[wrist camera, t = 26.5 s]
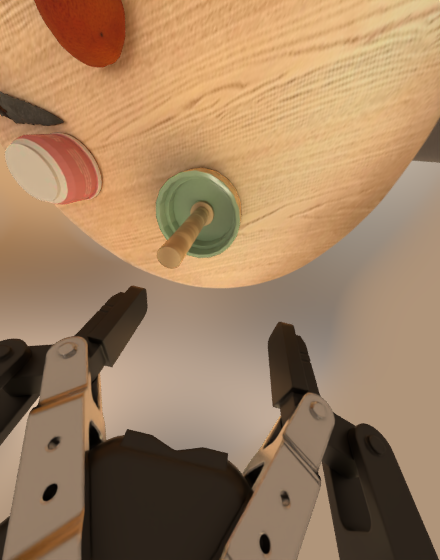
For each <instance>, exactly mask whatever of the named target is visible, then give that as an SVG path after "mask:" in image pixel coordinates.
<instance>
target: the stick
mask: <svg viewBox="0 0 440 560" xmlns="http://www.w3.org/2000/svg"><path fill="white" fill-rule="evenodd" d="M190 214H191V215H190V216H189V217H188V218H187V219H186V220H185V222H184V223H183V224H182V225H181V226H180V227H179V228H178V229H177V230H176V231H175V232H174V234H173V235H172V236H171V237H170V238H169V239H168V240H167V241H166V242H165V243H164V244H163V246H162V247H161V248H160V249H159V250H158V252H157V258H158V261H159V262H160V263H161V264H162V265H163V266H164V267H167V268H170V269H173V268H177V267H178V266H179V265H180V264H181V262H182V261H183V259H184V257H185V256H186V254H187V252H188V251H189V249H190V248H191V246H192V244H193V243H194V241H195V239H196V238H197V236H198V235H199V233H200V231H201V230H202V228H203V226H206V225H208V224H210V223H211V222H212V220H213V218H214V209H213V207H212V205H211V204H210V203H208V202H207V201H198V202H196V203H195V204H194V205H193V206H192V208H191V211H190Z"/></svg>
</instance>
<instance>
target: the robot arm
mask: <svg viewBox="0 0 440 560" xmlns="http://www.w3.org/2000/svg"><path fill="white" fill-rule="evenodd" d="M146 312H147V293H146V289H145V288H140V287H136V286H131V287H130V288H129V289H128V290H127V291H126V292H125V293H123V292H120V293H118V294H116V295H114V296H112V297H111V298H110V299H109V300H108V301H107V302H106V303H105V305H104V306H102V307H101V309H100V310H99V311H98V312H97V313H96V314H95V315H94V316H93V317H92V318H91V319H90V320H89V321H88V322H87V323H86V324H85V326H84V327H83V328H82V329H81V330H80V331H79V332H78V333H77V334H76V335H75V336H72V337H67V338H64V339H62V340H60V341H58V342H56V343H55V344H53V345H40V346H27V344H26V343H25V342H24V341H23V340H21V339H7V340H3V341H0V445H1V444H2V443H3V441H4V440H5V439H6V438H7V436H8V435H9V434H10V432H11V431H12V430H13V428H14V427H15V426H16V425H17V424H18V422H19V421H20V420H21V419H22V417H23V416H24V415H25V414H26V412H27V411H28V410H29V409H30V407H31V406H32V405H33V404H34V402H35V401H36V400H37V398H38V397H39V396H40V399H39V403H38V405H37V406H36V407H34V408H33V409H32V410H31V411H30V413H29V416H28V420H27V425H26V430H25V436H24V441H23V447H22V452H21V458H20V464H19V469H18V475H17V480H16V486H15V491H14V497H13V503H12V508H11V513H10V516H9V517H8V518H7V519H5V520H4V521H3V522H2V523H0V560H297V557H298V554H299V551H300V548H301V545H302V542H303V539H304V536H305V533H306V530H307V527H308V524H309V521H310V518H311V515H312V512H313V509H314V506H315V502H316V499H317V497H318V494H319V491H320V486H321V478H320V476H319V475H318V469H319V466H320V463H321V461H322V465H323V471H324V476H325V482H326V487H327V492H328V497H329V503H330V509H331V514H332V519H333V525H334V531H335V536H336V541H337V547H338V553H339V557H340V560H439V559H438V556H437V554H436V552H435V549H434V547H433V545H432V542H431V540H430V538H429V535H428V533H427V531H426V528H425V526H424V524H423V521H422V519H421V517H420V514H419V512H418V510H417V507H416V505H415V502H414V500H413V498H412V495H411V493H410V491H409V488H408V486H407V484H406V481H405V479H404V477H403V474H402V472H401V470H400V467H399V465H398V463H397V460H396V458H395V455H394V453H393V451H392V449H391V447H390V445H389V443H388V442H387V441H386V439H385V438H384V437H383V435H382V434H381V433H380V432H379V431H378V430H376V429H375V428H374V427H372V426H370V425H368V424H364V423H363V424H359V425H357V426H355V425H353V424H351V423H350V422H348V421H346V420H345V419H343V418H341V417H340V416H338V415H336V414H335V413H334V412H333V411H332V409H331V408H330V406H329V404H328V403H327V402H326V401H325V400H324V399H323V398H322V397H321V396H320V394H319V391H318V387H317V383H316V380H315V376H314V373H313V369H312V365H311V363H310V358H309V355H308V351H307V347H306V345H305V343H304V341H303V340H302V338H301V336H298V335H296V334H295V329H294V326H293V325H291V324H287V323H283V322H278V324H277V325H276V327H275V329H274V330H273V332H272V334H271V336H270V338H269V341H268V354H269V366H270V379H271V391H272V402H273V407H276V408H280V412H281V416H280V417H279V418H278V420H277V422H276V423H275V425H274V427H273V428H272V430H271V431H270V433H269V435H268V436H267V438H266V440H265V441H264V443H263V444H262V446H261V448H260V449H259V451H258V452H257V453H256V454H255V456H254V457H253V458H252V459H251V461H250V462H249V464H248V465H247V467H246V468H245V470H244V472H243V473H241V472H240V471H239V470H238V469H237V467H236V466H234V465H233V464H232V463H231V462H230V461H228V460H227V458H228V453H224V452H220V451H216V450H212V449H208V448H203V447H202V448H194V449H186V450H174V449H172V448H170V447H169V446H167V445H166V444H164V443H163V442H161V441H160V440H158V439H157V438H156V437H154V436H153V435H150V434H145V433H141V432H137V431H133V430H129V429H127V431H126V433H125V435H123V436H117V437H114V438H111V439H108V440H106V429H105V422H104V417H103V412H102V399H101V383H100V382H101V381H100V371H101V370H102V368H103V367H104V365H105V366H110V367H113V365H114V363H115V362H116V360H117V359H118V357H119V356H120V353H121V352H122V351H123V349H124V348H125V346H126V345H127V343H128V341H129V340H130V338H131V337H132V335H133V334H134V332H135V330H136V329H137V327H138V326H139V324H140V323H141V321H142V319H143V318H144V316H145V314H146Z"/></svg>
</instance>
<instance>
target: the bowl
mask: <svg viewBox="0 0 440 560" xmlns="http://www.w3.org/2000/svg"><path fill="white" fill-rule="evenodd" d="M198 201H207V202H208V203H210V204H211V205H212V207H213V209H214V218H213V220H212V222H211V223H210V224H208V225H206V226H203V228H202V230H201V231H200V233H199V235H198V236H197V238H196V239H195V241H194V243H193V244H192V246H191V248H190V249H189V251H188V252H187V254H186V255H189V256H193V257H197V258H208V257H213V256H216V255H218V254H221V253H222V252H224V251H225V250H226V249H228V248H229V247H230V246H231V244H232V243H233V241H234V240H235V238H236V237H237V234H238V230H239V226H240V221H241V202H240V199H239V196H238V193H237V191H236V189H235V188H234V186H233V185H232V184H231V182H230V181H229V180H228V179H227V178H226V177H224V176H223V175H221V174H220V173H218V172H217V171H215V170H211V169H207V168H194V169H189V170H186V171H183V172H180V173H178V174H176V175H175V176H173V177H171V178H169V179H168V180H167V181H166V183H165V184H164V185H163V187H162V188H161V189H160V191H159V194H158V198H157V201H156V218H157V222H158V225H159V228H160V230H161V232H162V233H163V235H164V236H165V238H166V240H168V239H169V238H170V237H171V236H172V235H173V234H174V232H175V231H176V230H177V229H178V228H179V227H180V226H181V225H182V224H183V223H184V222H185V220H186V219H187V218H188V217H189V216H190V215H191V214H190V211H191V208H192V206H193V205H194V204H195V203H196V202H198Z"/></svg>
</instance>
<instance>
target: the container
mask: <svg viewBox="0 0 440 560" xmlns="http://www.w3.org/2000/svg"><path fill="white" fill-rule="evenodd" d="M5 159H6V163H7V166H8V168H9V171H10V173H11V174H12V176H13V177H14V179H15V180H16V181H17V183H18V184H19V185H20V186H21V187H22V188H23V189H24V190H25V191H26V192H28V193H29V194H30V195H31V196H33V197H35V198H37V199H39V200H41V201H47V202H50V203H54V204H69V203H73V202H77V201H81V200H89V199H92V198H94V197H96V196H97V195H98V194H99V192H100V190H101V184H102V181H101V174H100V170H99V168H98V165H97V163H96V161H95V159H94V158H93V156H92V155H91V153H90V152H89V151H88V150H87V148H86V147H85V146H84V145H83V144H82V143H81V142H79V141H78V140H77V139H75V138H74V137H72V136H70V135H67V134H64V133H51V134H38V135H23V136H20V137H19V138H17V139H15V140H14V141H13V142H12V143H11V145H9V146H8V147H7V148H6V151H5Z"/></svg>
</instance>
